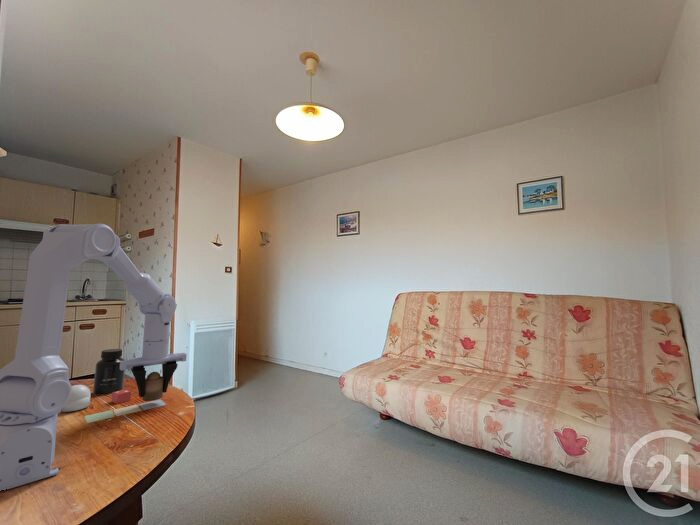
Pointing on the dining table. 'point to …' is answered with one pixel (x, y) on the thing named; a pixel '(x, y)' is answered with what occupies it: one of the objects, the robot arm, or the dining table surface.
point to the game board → (123, 411)
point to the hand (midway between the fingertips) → (152, 393)
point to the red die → (121, 396)
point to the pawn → (153, 387)
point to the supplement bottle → (109, 372)
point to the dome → (78, 398)
